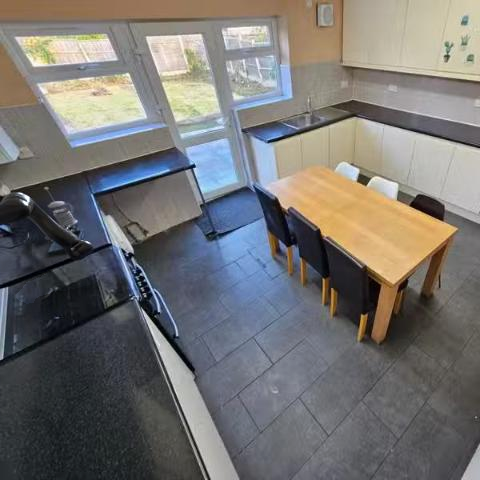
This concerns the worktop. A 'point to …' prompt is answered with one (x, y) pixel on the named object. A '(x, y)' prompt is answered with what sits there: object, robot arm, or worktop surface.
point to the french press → (67, 213)
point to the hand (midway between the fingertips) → (57, 229)
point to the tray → (60, 249)
